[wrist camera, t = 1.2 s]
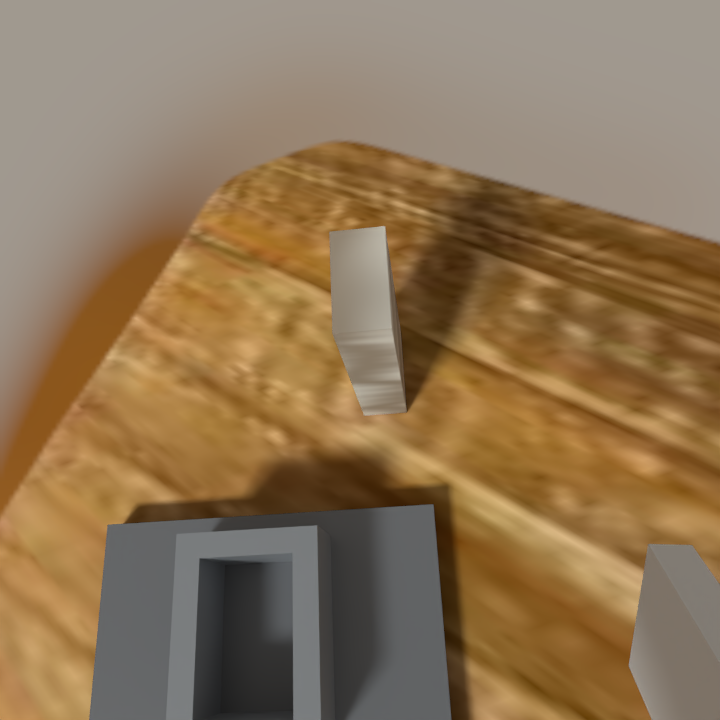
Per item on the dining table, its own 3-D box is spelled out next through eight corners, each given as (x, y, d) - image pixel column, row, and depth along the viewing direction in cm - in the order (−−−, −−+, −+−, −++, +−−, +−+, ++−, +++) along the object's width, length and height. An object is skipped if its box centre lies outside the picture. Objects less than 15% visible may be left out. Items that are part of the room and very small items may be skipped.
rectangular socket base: (433, 508, 37) (432, 490, 32) (454, 759, 32) (456, 784, 27) (119, 528, 39) (70, 513, 33) (98, 769, 34) (38, 794, 29)
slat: (401, 333, 41) (384, 226, 30) (406, 412, 39) (391, 328, 28) (360, 337, 41) (329, 231, 30) (364, 415, 39) (332, 333, 28)
